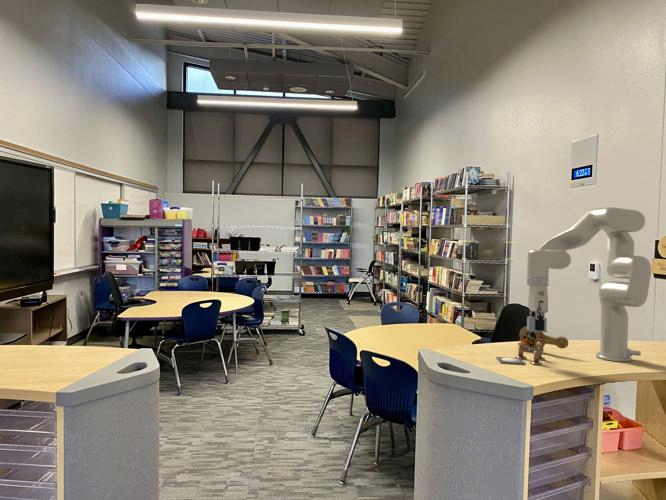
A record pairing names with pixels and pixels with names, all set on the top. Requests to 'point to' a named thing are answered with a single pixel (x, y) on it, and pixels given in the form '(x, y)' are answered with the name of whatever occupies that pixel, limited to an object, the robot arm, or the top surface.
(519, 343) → the brown legged frame
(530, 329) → the blue-grey block
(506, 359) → the pad
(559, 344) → the toy helicopter
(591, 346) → the top surface
